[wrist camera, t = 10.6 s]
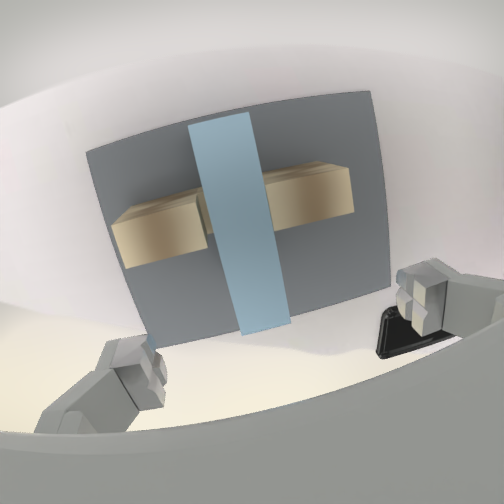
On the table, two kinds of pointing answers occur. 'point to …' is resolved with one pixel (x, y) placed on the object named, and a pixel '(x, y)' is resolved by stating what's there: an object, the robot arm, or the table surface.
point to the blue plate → (241, 220)
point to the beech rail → (198, 220)
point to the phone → (403, 335)
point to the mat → (287, 240)
